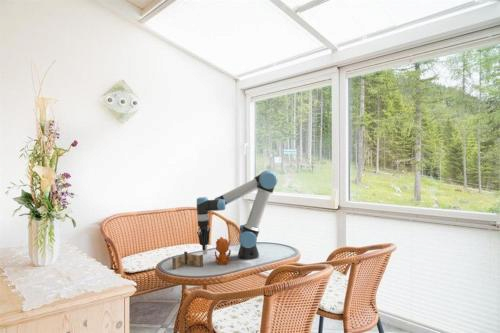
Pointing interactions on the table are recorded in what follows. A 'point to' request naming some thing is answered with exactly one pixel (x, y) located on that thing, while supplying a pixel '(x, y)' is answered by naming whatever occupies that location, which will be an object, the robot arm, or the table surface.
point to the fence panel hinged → (195, 260)
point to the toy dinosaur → (222, 251)
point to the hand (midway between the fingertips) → (205, 254)
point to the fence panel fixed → (179, 261)
